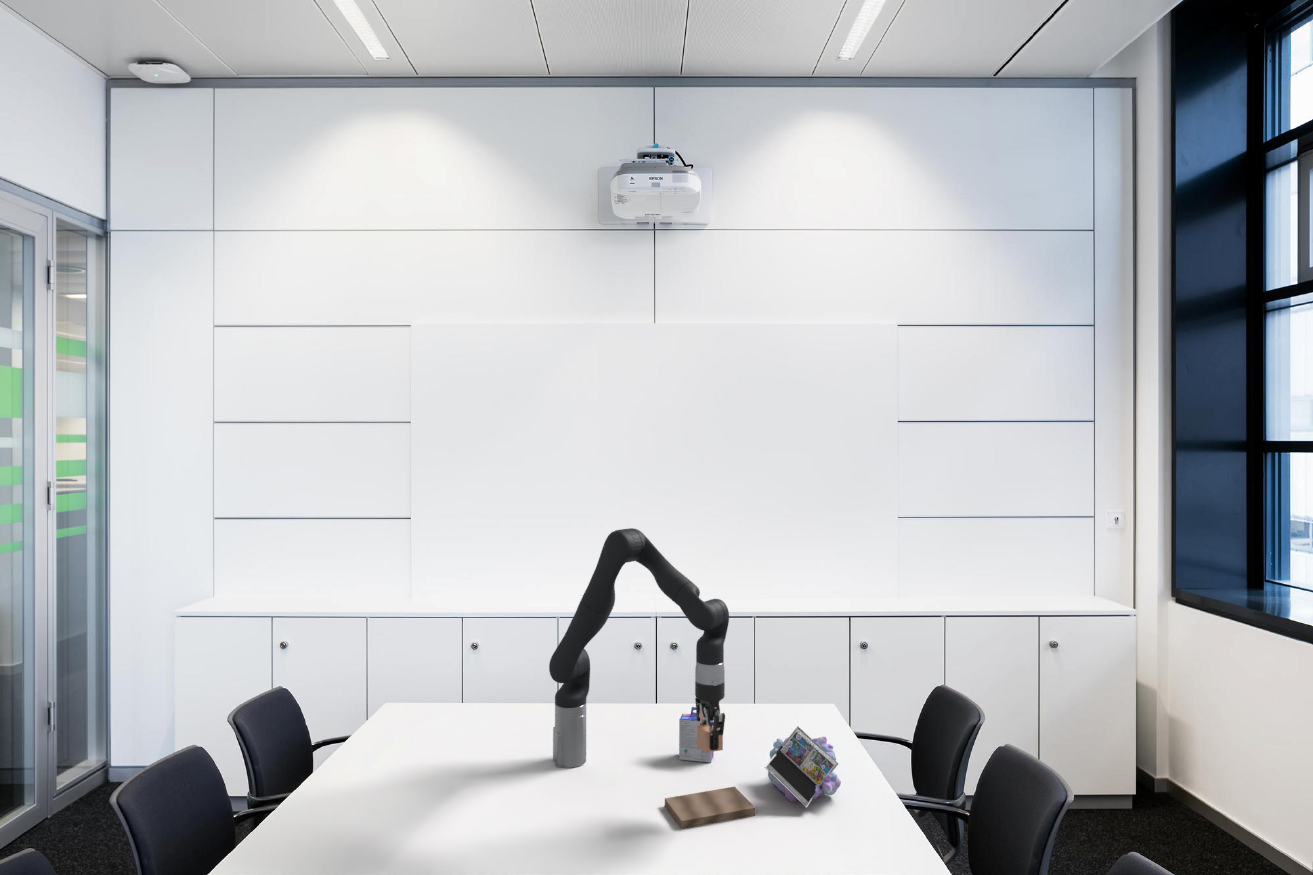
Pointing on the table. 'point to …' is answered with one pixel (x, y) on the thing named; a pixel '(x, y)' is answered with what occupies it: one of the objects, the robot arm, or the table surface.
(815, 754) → the lumpy iridescent figurine
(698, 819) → the walnut board
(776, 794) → the table surface
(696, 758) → the ink cartridge box
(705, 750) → the terracotta cube
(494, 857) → the table surface
